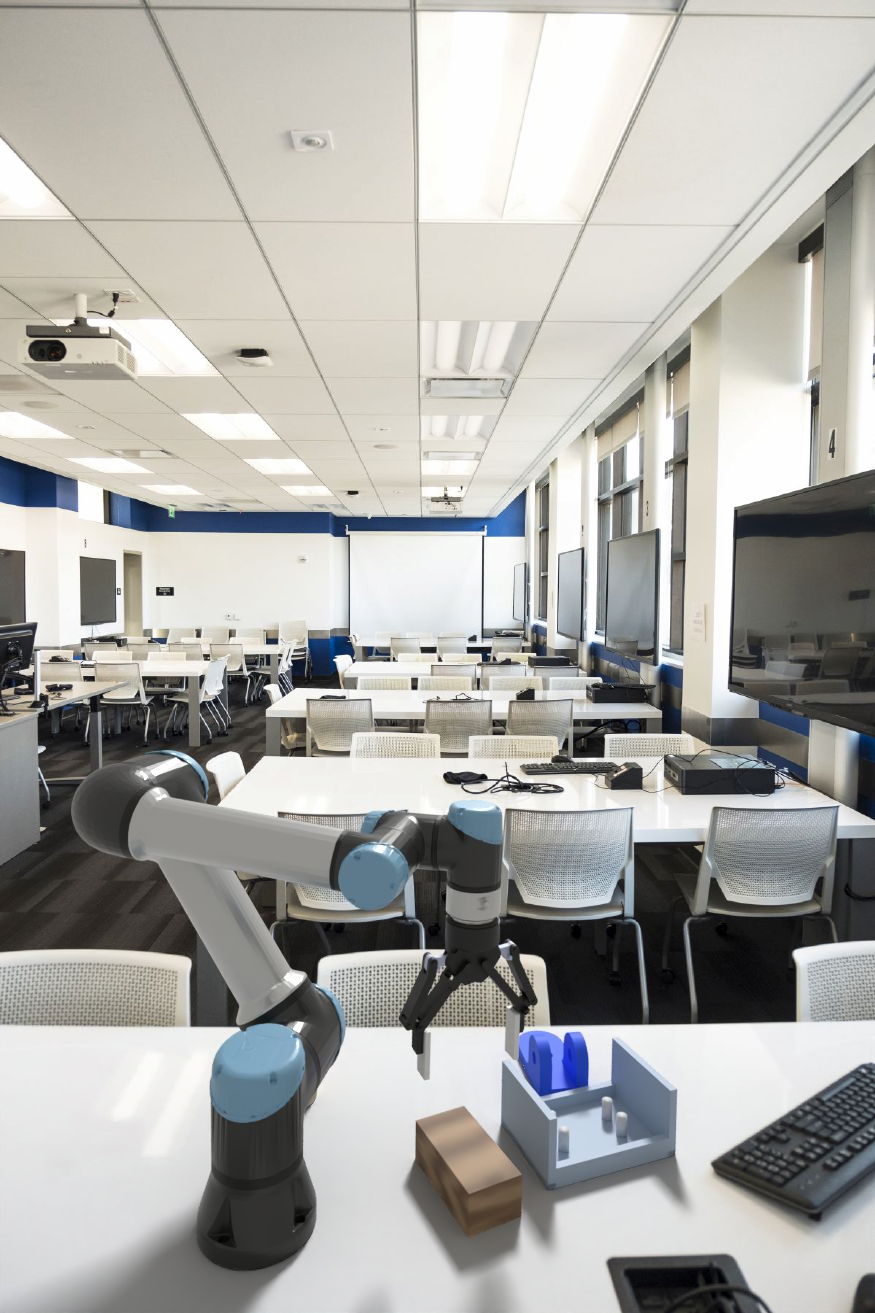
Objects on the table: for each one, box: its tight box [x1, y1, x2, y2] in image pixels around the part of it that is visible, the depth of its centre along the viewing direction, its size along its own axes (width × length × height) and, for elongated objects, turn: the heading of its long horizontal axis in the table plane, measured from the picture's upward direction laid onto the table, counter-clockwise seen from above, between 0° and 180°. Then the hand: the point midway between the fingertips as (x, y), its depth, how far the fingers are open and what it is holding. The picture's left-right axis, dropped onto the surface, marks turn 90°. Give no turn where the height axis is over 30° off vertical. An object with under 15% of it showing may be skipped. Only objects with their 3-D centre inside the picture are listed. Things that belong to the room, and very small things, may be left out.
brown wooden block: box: [414, 1105, 523, 1238], centre depth 107 cm, size 16×8×6 cm, turn 27°
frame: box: [500, 1036, 678, 1191], centre depth 117 cm, size 21×15×10 cm
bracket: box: [519, 1030, 590, 1097], centre depth 136 cm, size 18×8×9 cm, turn 9°
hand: (468, 1064), depth 108 cm, fingers open, 13 cm apart
